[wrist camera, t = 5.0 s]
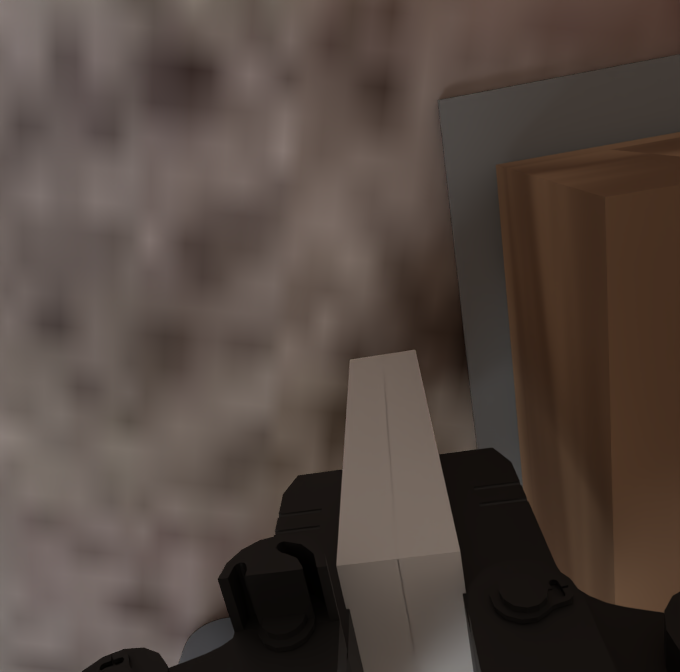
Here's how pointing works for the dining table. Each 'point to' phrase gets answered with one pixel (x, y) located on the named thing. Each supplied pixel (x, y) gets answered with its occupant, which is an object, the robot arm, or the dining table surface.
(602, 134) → the runner mat
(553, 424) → the socket block
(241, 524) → the dining table surface
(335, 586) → the robot arm
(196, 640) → the dowel
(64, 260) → the dining table surface
